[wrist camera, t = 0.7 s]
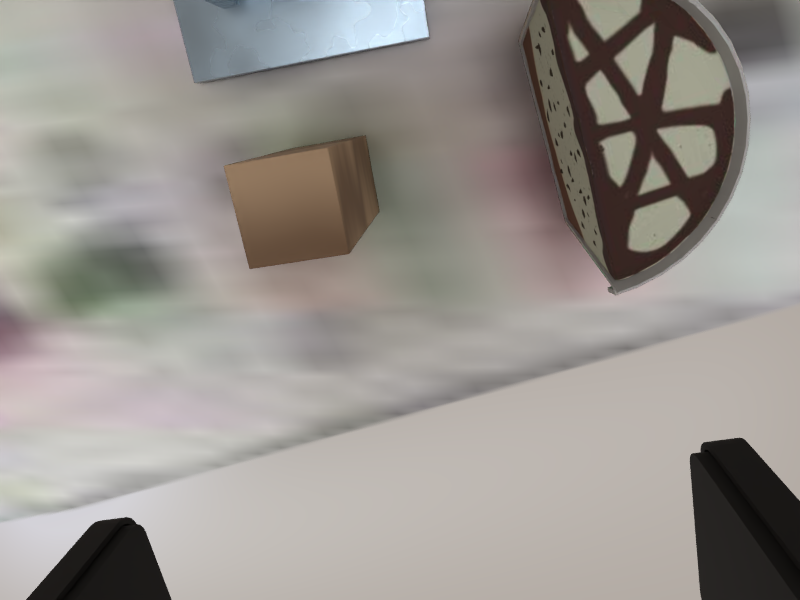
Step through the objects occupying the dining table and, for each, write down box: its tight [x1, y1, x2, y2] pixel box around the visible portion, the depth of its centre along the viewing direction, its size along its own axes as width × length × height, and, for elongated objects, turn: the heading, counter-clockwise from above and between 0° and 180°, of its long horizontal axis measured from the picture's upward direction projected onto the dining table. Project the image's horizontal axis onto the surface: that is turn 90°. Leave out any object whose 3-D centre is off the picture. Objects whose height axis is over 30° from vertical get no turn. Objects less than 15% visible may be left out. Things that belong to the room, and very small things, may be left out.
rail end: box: [224, 135, 379, 269], centre depth 27 cm, size 4×4×10 cm
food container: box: [518, 0, 751, 295], centre depth 25 cm, size 12×6×10 cm, turn 19°
